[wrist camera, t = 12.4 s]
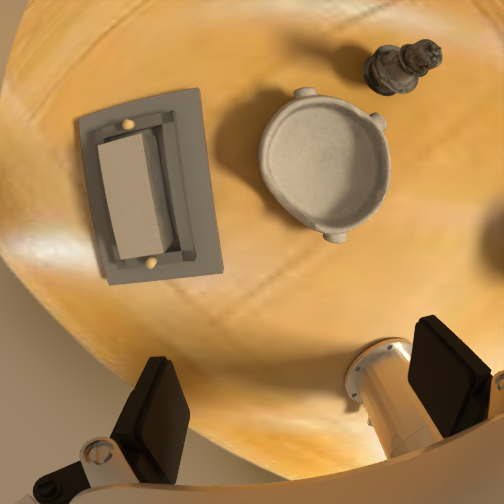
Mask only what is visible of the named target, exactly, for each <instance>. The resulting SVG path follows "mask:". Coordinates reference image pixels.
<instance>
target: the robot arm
mask: <svg viewBox="0 0 504 504" xmlns="http://www.w3.org/2000/svg"><path fill="white" fill-rule="evenodd" d="M490 373H491V369H490V368H489V367H488V366H487V365H486V364H485V363H484V362H483V361H482V360H481V359H480V358H479V357H478V356H477V355H476V354H475V353H474V352H473V351H472V350H471V349H470V348H469V347H468V346H467V345H466V344H465V343H464V342H463V341H462V340H461V339H459V338H458V337H457V336H456V335H455V334H454V333H453V332H452V331H451V330H450V329H449V328H448V327H447V326H446V325H445V324H443V323H442V322H441V321H440V320H439V319H438V318H437V317H436V316H435V315H429V316H426V317H422V318H420V319H419V322H417V323H416V325H415V332H414V339H413V344H412V343H411V342H410V341H408V340H405V339H400V338H395V339H388V340H385V341H382V342H379V343H377V344H375V345H373V346H371V347H370V348H368V349H367V350H365V351H364V352H363V353H362V354H360V355H359V356H358V357H357V358H356V359H355V361H354V362H353V363H352V364H351V366H350V367H349V369H348V371H347V374H346V377H345V389H346V391H347V394H348V395H349V397H350V398H351V399H352V400H354V401H356V402H358V403H362V404H364V407H365V409H366V411H367V413H368V416H369V417H368V422H367V423H368V425H369V426H373V427H374V429H375V432H376V434H377V436H378V438H379V441H380V443H381V446H382V448H383V450H384V453H385V455H386V457H387V460H385V461H382V462H379V463H375V464H372V465H368V466H364V467H360V468H356V469H352V470H348V471H344V472H339V473H334V474H329V475H324V476H319V477H313V478H307V479H300V480H293V481H285V482H277V483H266V484H254V485H236V486H188V485H174V484H175V483H176V479H177V474H178V470H179V465H180V461H181V456H182V451H183V446H184V442H185V437H186V433H187V428H188V424H189V419H190V411H189V408H188V405H187V402H186V400H185V397H184V394H183V392H182V389H181V386H180V384H179V381H178V378H177V375H176V372H175V370H174V367H173V364H172V361H171V360H167V358H166V357H165V356H159V357H150V358H149V360H148V362H147V364H146V366H145V368H144V370H143V372H142V374H141V376H140V378H139V380H138V382H137V384H136V386H135V388H134V390H133V391H132V392H131V393H130V395H129V397H128V399H127V401H126V404H125V406H124V408H123V410H122V412H121V414H120V416H119V419H118V421H117V423H116V425H115V427H114V429H113V432H112V433H111V436H110V438H108V437H96V438H93V439H91V440H89V441H87V442H86V443H85V444H84V445H83V447H82V448H81V450H80V454H79V455H80V461H78V462H76V463H73V464H71V465H69V466H66V467H64V468H62V469H59V470H57V471H55V472H52V473H50V474H47V475H45V476H43V477H41V478H39V479H38V480H37V481H36V483H35V485H34V487H33V495H32V496H30V495H28V494H27V495H26V496H25V497H24V498H22V499H21V500H19V501H18V502H17V503H15V504H504V371H500V372H498V373H496V374H495V375H494V376H492V375H491V374H490Z"/></svg>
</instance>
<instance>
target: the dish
mask: <svg viewBox="0 0 504 504" xmlns="http://www.w3.org/2000/svg"><path fill="white" fill-rule="evenodd" d="M294 95H295V99H293V100H292V101H290V102H288V103H286V104H285V105H283V106H282V107H281V108H280V109H279V110H278V111H277V112H276V113H275V114H274V115H273V116H272V118H271V119H270V120H269V122H268V124H267V125H266V127H265V129H264V131H263V134H262V137H261V140H260V144H259V151H258V161H259V168H260V173H261V176H262V179H263V181H264V183H265V185H266V187H267V188H268V189H269V191H270V192H271V193H272V195H273V196H274V197H275V199H276V200H277V201H278V202H279V203H280V205H281V206H282V207H283V208H285V210H286V211H288V212H289V213H290V214H291V215H292V216H293V217H295V218H296V219H297V220H298V221H300V222H301V223H302V224H304V225H305V226H307V227H308V228H310V229H312V230H314V231H317V232H320V233H323V238H324V239H325V240H327V241H329V242H331V243H336V244H340V243H343V242H345V241H346V240H347V235H346V232H348V231H350V230H353V229H355V228H357V227H359V226H360V225H362V224H364V223H365V222H366V221H368V220H369V219H370V218H371V217H372V216H373V215H374V214H375V213H376V212H377V211H378V210H379V208H380V207H381V205H382V203H383V200H384V198H385V196H386V194H387V192H388V189H389V184H390V179H391V162H390V153H389V147H388V143H387V139H386V136H385V134H384V132H383V131H384V130H386V128H387V122H386V120H385V118H384V117H382V116H381V115H380V114H379V113H376V112H375V113H372V114H370V115H368V114H366V113H365V112H363V111H362V110H360V109H359V108H357V107H356V106H355V105H353V104H351V103H349V102H347V101H344V100H342V99H339V98H335V97H331V96H325V95H319V94H317V93H316V90H315V88H313V87H303V88H299V89H296V90H295V91H294Z"/></svg>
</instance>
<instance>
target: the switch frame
mask: <svg viewBox="0 0 504 504" xmlns="http://www.w3.org/2000/svg"><path fill="white" fill-rule="evenodd" d="M79 131H80V141H81V150H82V158H83V166H84V173H85V180H86V186H87V192H88V198H89V203H90V209H91V214H92V219H93V224H94V228H95V233H96V237H97V242H98V246H99V250H100V254H101V258H102V262H103V266H104V269H105V273H106V277H107V280H108V284H109V285H119V284H129V283H138V282H148V281H157V280H167V279H176V278H185V277H194V276H203V275H212V274H221V273H223V270H224V266H223V260H222V254H221V247H220V240H219V234H218V227H217V220H216V213H215V206H214V199H213V192H212V184H211V177H210V170H209V162H208V154H207V146H206V138H205V130H204V122H203V113H202V104H201V95H200V90H199V88H192V89H187V90H181V91H176V92H171V93H167V94H162V95H157V96H153V97H149V98H145V99H141V100H137V101H133V102H129V103H125V104H122V105H118V106H115V107H111V108H108V109H105V110H102V111H98V112H95V113H92V114H89V115H86V116H83V117H80V118H79ZM140 133H143V134H148V135H152V136H156V137H157V140H158V146H159V153H160V159H161V165H162V171H163V177H164V183H165V189H166V194H167V200H168V205H169V210H170V216H171V221H172V226H173V230H174V235H175V239H174V241H173V242H172V243H171V245H170V246H169V247H168V248H167V250H166V251H165V252H164V253H161V254H154V255H148V256H141V257H135V258H129V259H122V260H121V258H120V255H119V251H118V247H117V243H116V239H115V235H114V231H113V226H112V222H111V217H110V213H109V208H108V203H107V198H106V193H105V188H104V183H103V177H102V171H101V165H100V159H99V152H98V145H101V144H105V143H108V142H111V141H115V140H118V139H122V138H125V137H129V136H133V135H136V134H140Z"/></svg>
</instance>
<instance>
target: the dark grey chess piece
mask: <svg viewBox="0 0 504 504" xmlns="http://www.w3.org/2000/svg"><path fill="white" fill-rule="evenodd" d="M441 63H442V52H441V48H440V47H439V46H438V45H437V44H436V43H434V42H433V41H431V40H428V39H423V40H420V41H418V42H416V43H415V44H405V45H403V46H402V47H401V48H399V47H397V46H394V45H384V46H381V47H379V48H378V49H377V50H376V51H375V53H374V55H373V56H372V57H370V58H368V59H367V60H366V61H365V63H364V66H363V75H364V78H365V81H366V82H367V84H368V86H369V87H370V88H371V89H372V90H373V91H375V92H376V93H378V94H380V95H383V96H392V95H394V94H396V93H400V94H404V93H409V92H411V91H413V90H414V89H415V88H416V86H417V84H418V80H419V77H422V76H424V75H426V74H427V72H428V70H430V69H433V68H435V67H438V66H439V65H440V64H441Z"/></svg>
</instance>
